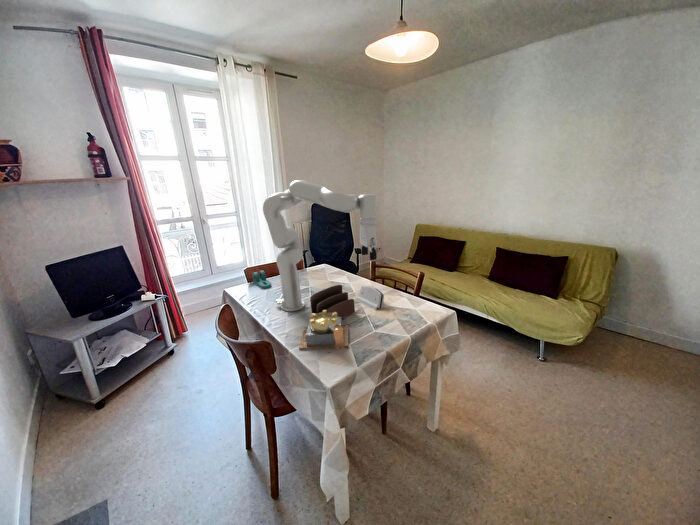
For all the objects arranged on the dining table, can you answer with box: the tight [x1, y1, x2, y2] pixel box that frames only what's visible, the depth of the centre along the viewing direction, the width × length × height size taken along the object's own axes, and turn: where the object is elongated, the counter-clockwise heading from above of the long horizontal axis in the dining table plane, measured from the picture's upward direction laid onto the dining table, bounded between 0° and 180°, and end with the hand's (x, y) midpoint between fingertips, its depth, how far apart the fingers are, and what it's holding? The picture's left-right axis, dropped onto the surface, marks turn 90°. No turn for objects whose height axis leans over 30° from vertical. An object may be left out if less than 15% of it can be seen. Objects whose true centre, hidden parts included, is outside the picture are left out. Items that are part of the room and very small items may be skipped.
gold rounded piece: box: [309, 310, 344, 350], centre depth 114 cm, size 21×12×8 cm, turn 30°
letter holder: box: [309, 284, 356, 320], centre depth 136 cm, size 10×20×14 cm, turn 133°
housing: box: [298, 317, 350, 350], centre depth 119 cm, size 20×16×6 cm
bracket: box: [251, 269, 272, 290], centre depth 183 cm, size 18×7×8 cm, turn 37°
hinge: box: [355, 285, 385, 311], centre depth 149 cm, size 17×5×10 cm, turn 38°
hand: (368, 257), depth 133 cm, fingers open, 9 cm apart
